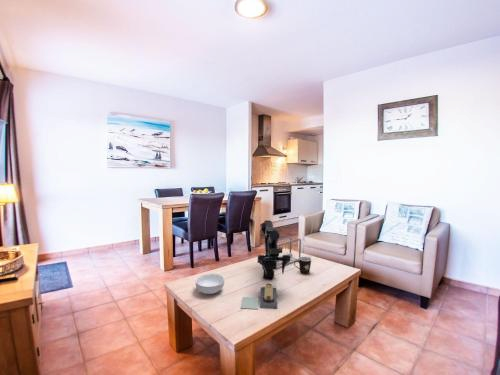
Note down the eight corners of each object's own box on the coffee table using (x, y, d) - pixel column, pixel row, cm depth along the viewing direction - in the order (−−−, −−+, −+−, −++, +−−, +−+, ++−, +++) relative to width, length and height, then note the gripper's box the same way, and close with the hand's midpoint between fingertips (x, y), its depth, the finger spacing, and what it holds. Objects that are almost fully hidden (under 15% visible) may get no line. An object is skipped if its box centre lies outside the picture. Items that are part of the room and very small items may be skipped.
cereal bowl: (193, 286, 152) (193, 275, 151) (220, 282, 158) (220, 271, 157) (198, 300, 136) (198, 288, 136) (227, 295, 142) (227, 283, 142)
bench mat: (242, 297, 140) (242, 296, 140) (258, 298, 140) (258, 297, 140) (240, 308, 129) (240, 307, 129) (257, 309, 129) (257, 308, 129)
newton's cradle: (290, 256, 207) (290, 235, 206) (300, 260, 200) (301, 238, 198) (265, 265, 187) (265, 242, 186) (275, 270, 179) (276, 245, 178)
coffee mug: (310, 270, 179) (311, 257, 178) (310, 275, 170) (311, 261, 169) (294, 269, 181) (294, 255, 181) (293, 273, 173) (294, 259, 172)
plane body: (260, 291, 148) (261, 282, 147) (276, 291, 147) (276, 282, 147) (259, 307, 131) (260, 297, 130) (277, 308, 130) (277, 298, 129)
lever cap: (264, 302, 135) (264, 286, 134) (272, 303, 135) (273, 286, 134) (264, 305, 132) (264, 288, 131) (272, 306, 132) (273, 289, 131)
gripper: (258, 241, 143) (259, 268, 133) (290, 241, 144) (293, 268, 134) (256, 249, 152) (257, 275, 142) (287, 249, 153) (290, 275, 143)
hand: (274, 273), depth 140 cm, fingers open, 9 cm apart
